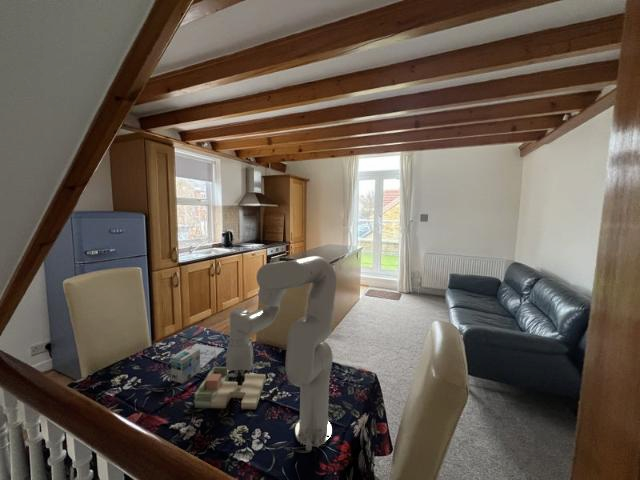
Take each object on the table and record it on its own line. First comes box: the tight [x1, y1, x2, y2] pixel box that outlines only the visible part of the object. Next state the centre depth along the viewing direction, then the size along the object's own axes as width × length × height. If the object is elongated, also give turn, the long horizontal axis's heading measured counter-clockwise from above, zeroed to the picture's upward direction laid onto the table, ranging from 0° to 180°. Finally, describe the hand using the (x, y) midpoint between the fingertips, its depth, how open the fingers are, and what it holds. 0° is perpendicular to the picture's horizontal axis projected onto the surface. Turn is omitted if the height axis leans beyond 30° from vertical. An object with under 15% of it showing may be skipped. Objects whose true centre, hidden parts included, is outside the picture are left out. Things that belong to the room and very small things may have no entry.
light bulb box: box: [170, 346, 201, 384], centre depth 119 cm, size 11×7×11 cm, turn 161°
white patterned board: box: [168, 343, 225, 370], centre depth 136 cm, size 19×20×2 cm
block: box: [206, 374, 221, 390], centre depth 108 cm, size 4×4×4 cm
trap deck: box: [194, 366, 267, 410], centre depth 108 cm, size 18×23×6 cm
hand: (240, 383), depth 108 cm, fingers closed
